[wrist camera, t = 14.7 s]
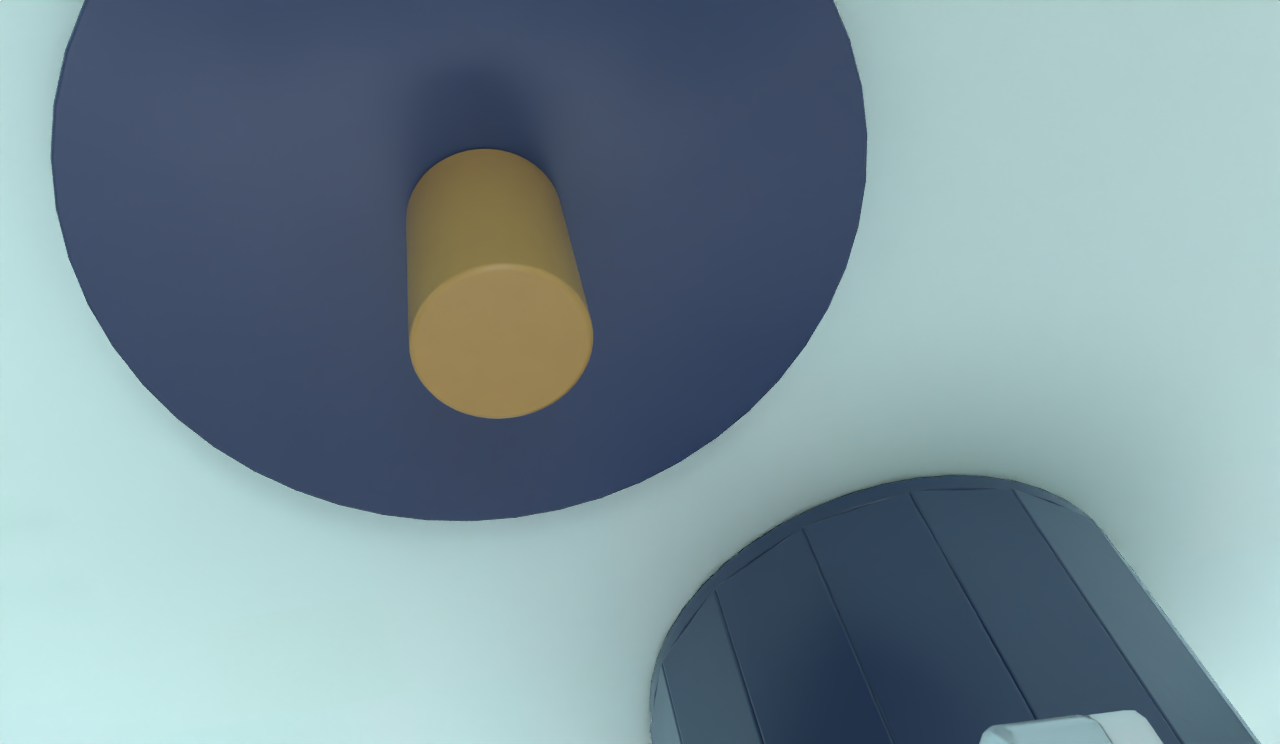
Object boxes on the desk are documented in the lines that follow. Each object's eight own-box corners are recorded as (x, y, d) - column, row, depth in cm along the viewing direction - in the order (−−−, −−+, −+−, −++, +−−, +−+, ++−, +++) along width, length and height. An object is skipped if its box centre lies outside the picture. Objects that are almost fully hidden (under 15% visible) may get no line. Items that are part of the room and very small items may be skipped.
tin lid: (759, -369, 17) (879, -346, 13) (899, 361, 25) (1002, 524, 20) (-122, -56, 17) (-288, 67, 13) (292, 567, 25) (272, 769, 21)
